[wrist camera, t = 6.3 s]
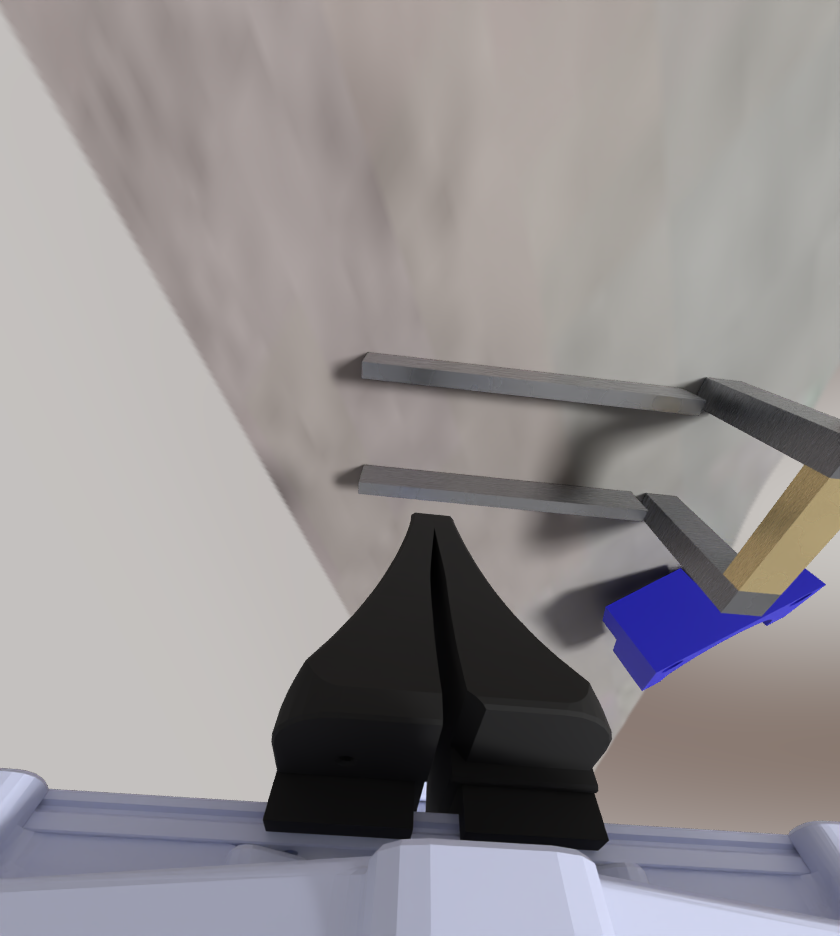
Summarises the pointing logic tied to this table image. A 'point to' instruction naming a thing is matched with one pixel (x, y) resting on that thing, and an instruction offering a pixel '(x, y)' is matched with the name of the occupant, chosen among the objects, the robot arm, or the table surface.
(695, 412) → the guide channel
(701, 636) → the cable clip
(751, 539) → the bracket
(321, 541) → the table surface
